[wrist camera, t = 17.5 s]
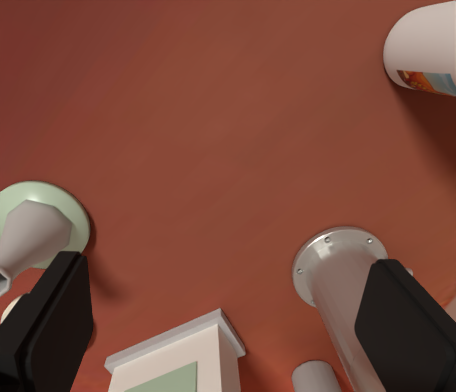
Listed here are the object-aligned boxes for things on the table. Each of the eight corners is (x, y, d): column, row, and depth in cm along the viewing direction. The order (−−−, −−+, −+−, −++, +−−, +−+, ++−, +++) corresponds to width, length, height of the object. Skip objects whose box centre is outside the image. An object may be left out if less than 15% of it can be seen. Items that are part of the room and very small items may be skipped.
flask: (55, 265, 42) (14, 326, 32) (-5, 235, 40) (-67, 292, 30) (84, 220, 40) (49, 272, 30) (22, 187, 38) (-35, 232, 28)
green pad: (86, 182, 39) (83, 185, 38) (93, 265, 43) (91, 269, 42) (-18, 178, 38) (-23, 181, 37) (0, 262, 42) (-4, 267, 41)
